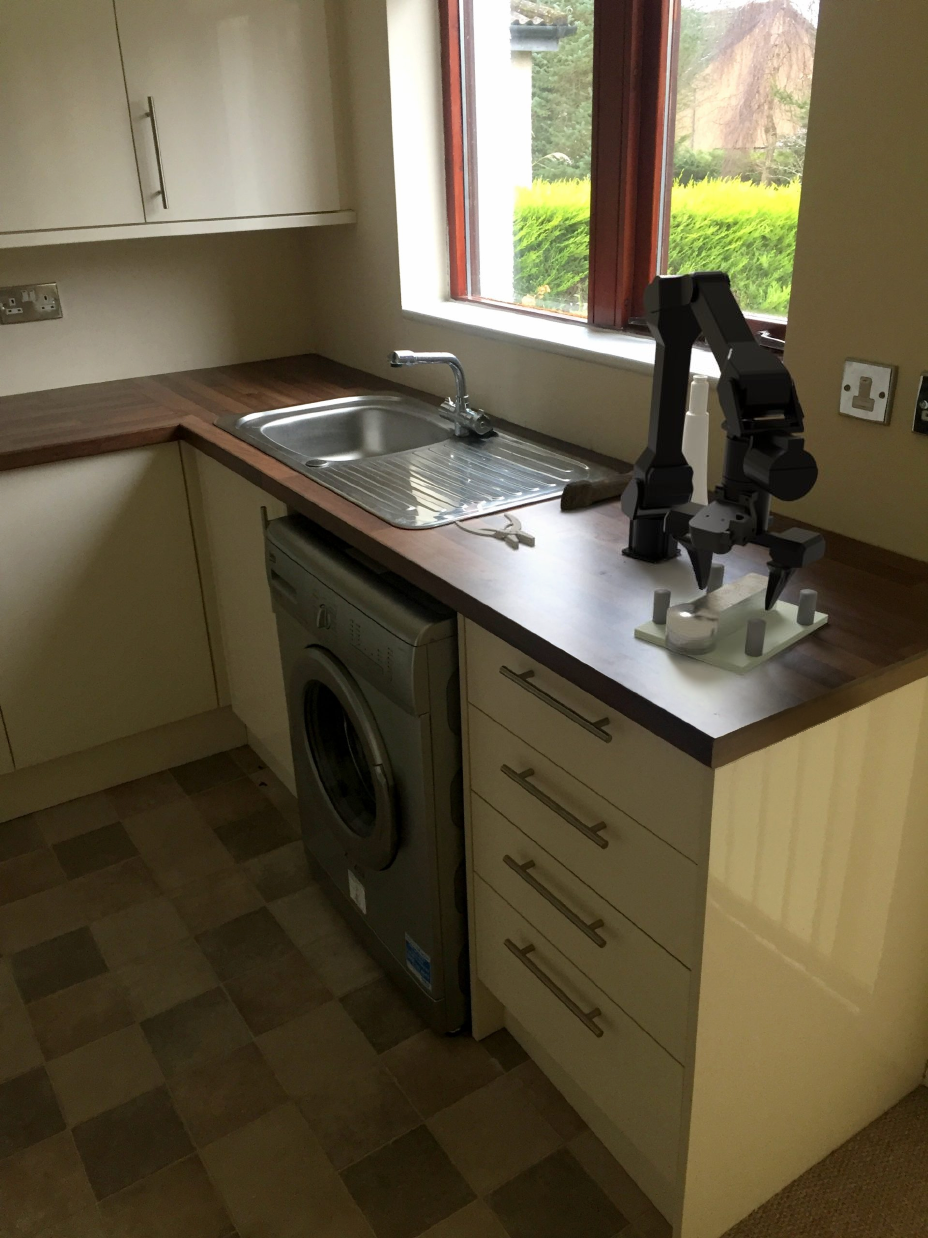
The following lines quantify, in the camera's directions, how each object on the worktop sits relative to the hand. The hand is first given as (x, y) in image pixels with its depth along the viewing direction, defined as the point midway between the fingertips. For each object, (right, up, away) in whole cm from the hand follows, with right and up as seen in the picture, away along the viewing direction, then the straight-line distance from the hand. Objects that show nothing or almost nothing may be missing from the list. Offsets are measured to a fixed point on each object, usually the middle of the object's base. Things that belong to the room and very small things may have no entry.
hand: (734, 599), depth 124 cm
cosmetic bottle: (+5, +16, +46) cm, 48 cm away
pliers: (-27, +11, +36) cm, 46 cm away
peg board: (0, -4, +2) cm, 4 cm away
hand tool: (-9, +18, +50) cm, 54 cm away
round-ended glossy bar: (-2, -4, 0) cm, 4 cm away
